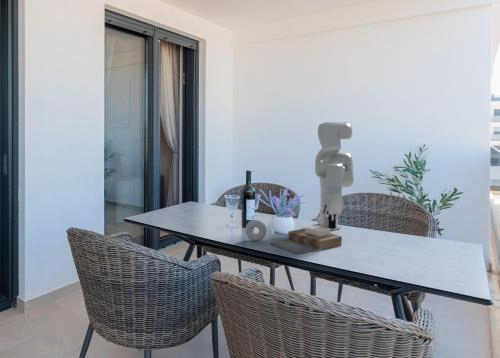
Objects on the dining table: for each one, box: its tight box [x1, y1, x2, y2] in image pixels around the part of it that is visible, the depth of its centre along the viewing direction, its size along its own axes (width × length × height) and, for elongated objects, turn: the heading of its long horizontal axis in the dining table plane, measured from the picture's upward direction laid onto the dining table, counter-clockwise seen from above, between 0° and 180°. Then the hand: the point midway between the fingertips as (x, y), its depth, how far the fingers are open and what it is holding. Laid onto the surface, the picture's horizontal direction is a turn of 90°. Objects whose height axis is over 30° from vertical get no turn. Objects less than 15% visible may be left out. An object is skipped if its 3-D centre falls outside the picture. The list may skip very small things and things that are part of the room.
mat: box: [269, 239, 318, 255], centre depth 165 cm, size 18×11×1 cm, turn 37°
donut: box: [244, 219, 267, 242], centre depth 174 cm, size 10×4×10 cm, turn 80°
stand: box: [287, 228, 343, 251], centre depth 173 cm, size 20×14×4 cm
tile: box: [305, 224, 331, 236], centre depth 174 cm, size 9×7×2 cm
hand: (331, 228), depth 180 cm, fingers closed
